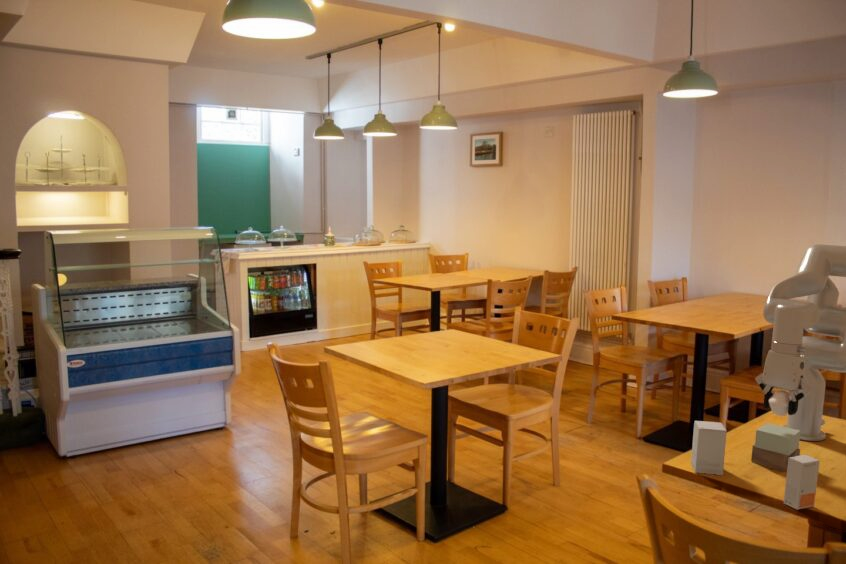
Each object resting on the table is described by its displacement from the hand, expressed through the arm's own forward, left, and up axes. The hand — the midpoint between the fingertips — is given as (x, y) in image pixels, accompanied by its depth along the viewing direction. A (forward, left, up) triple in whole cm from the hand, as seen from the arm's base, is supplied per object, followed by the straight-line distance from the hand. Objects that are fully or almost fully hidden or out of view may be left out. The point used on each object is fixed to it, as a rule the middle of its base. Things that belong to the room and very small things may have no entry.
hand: (779, 410), depth 205 cm
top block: (0, 0, -11) cm, 11 cm away
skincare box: (+22, +18, -16) cm, 32 cm away
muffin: (0, 0, -1) cm, 1 cm away
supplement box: (+21, -8, -16) cm, 27 cm away
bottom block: (0, 0, -16) cm, 16 cm away
